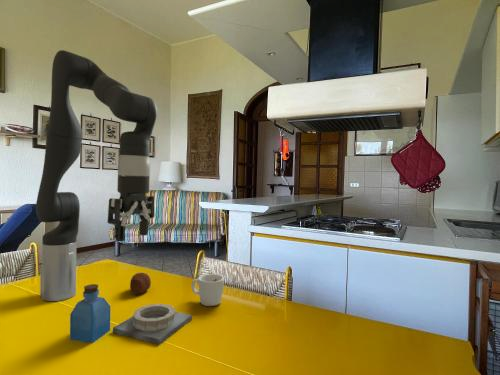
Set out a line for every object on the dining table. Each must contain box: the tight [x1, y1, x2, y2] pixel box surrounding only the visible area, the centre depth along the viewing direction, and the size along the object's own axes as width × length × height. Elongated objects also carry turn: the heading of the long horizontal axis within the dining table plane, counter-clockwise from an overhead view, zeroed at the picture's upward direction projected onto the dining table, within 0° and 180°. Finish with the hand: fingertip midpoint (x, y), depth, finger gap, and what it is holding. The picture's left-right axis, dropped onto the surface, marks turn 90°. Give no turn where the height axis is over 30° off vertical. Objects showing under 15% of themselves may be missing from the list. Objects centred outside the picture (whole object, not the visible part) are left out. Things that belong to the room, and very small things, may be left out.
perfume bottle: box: [69, 283, 111, 344], centre depth 75 cm, size 6×6×12 cm
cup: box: [191, 273, 225, 307], centre depth 97 cm, size 11×8×8 cm
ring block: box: [112, 303, 193, 345], centre depth 81 cm, size 14×14×4 cm
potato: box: [129, 272, 152, 295], centre depth 105 cm, size 7×9×6 cm
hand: (132, 237), depth 79 cm, fingers open, 8 cm apart
